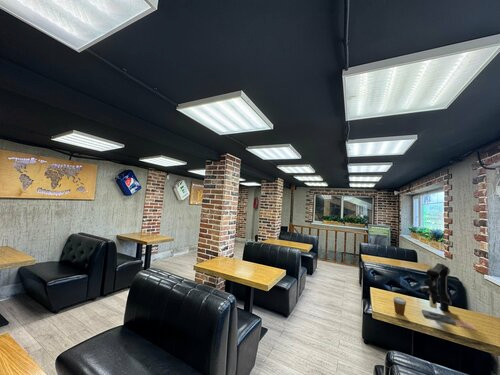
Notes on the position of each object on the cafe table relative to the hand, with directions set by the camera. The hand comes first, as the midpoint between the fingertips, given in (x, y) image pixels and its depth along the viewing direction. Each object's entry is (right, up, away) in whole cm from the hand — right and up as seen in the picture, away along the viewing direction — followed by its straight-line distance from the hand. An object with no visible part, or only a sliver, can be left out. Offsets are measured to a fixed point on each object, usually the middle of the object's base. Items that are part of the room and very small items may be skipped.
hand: (433, 303), depth 177 cm
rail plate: (+2, -11, -2) cm, 12 cm away
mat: (+17, -12, -11) cm, 23 cm away
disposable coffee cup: (-28, -10, +1) cm, 30 cm away
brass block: (0, -3, 0) cm, 3 cm away
